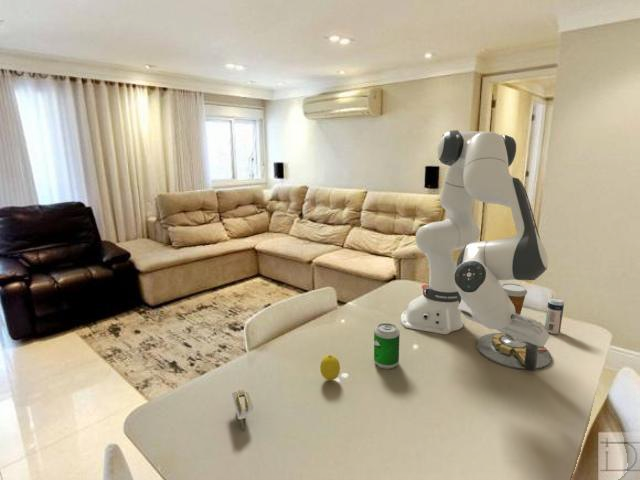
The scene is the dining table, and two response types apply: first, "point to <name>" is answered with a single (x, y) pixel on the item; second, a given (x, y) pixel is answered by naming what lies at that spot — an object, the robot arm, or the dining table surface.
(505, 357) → the flange
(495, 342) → the tan handled ring
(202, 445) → the dining table surface
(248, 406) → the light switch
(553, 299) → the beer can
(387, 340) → the soda can
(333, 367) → the lemon
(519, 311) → the disposable coffee cup
